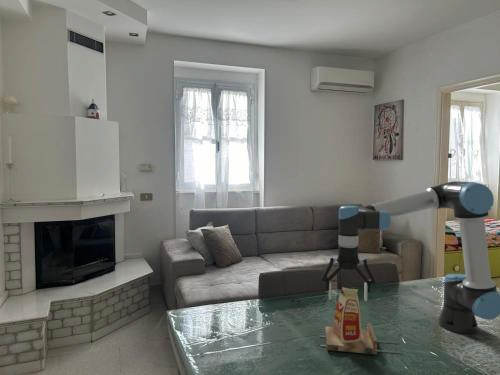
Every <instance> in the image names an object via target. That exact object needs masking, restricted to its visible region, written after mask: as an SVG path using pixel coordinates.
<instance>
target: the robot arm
mask: <svg viewBox="0 0 500 375" xmlns="http://www.w3.org/2000/svg"><path fill="white" fill-rule="evenodd" d="M494 200H495V199H494V195H493V192H492V190H491V189H490V188H489V187H488V186H486V185H485V184H483V183H479V182H475V181H474V182H473V181H458V180H457V181H449V182H444V183H441V184H438V185H434V186H431V187H427V188H426V189H425V190H424V191H420V192H417V193H413V194H408V195H405V196H404V195H403V196H401V197H397V198H392V199H388V200H385V201H381V202H376V203H373V204H369V205H365V206H361V205H360V206H358V205H357V206H356V205H342V206H340V207H339V209H338V216H337V217H338V239H337V240H338V243H337V244H338V246H337V247H338V249H337V250H338V252H337V257H333V256H330V257H329V262H328V263H327V264H328V265H327V266H326V267H325V270H324V272H323V274H322V275H321V281H322V282H325V290H326V291H328V300H332V280H333V279H334V278H335V277H336V275H337V274H338V273H339V272H340V271H342V269H343V270H344V271H345V270H346V271H347V270H349V271H353V270H355V271H356V272H357V273H358V275H359V276H360V277H361V278H362V279H363V280H364V288H363V289H364V291H363V292H364V294H363V295H364V296H363V299H364V302H368V293H371V285H372V284H375V283H376V280H375V277H374V276H373V274H372V272H371V271H370V270H371V269H370V268H369V266H368V260H367V258H365V257H363V258H360V257H359V247H358V246H359V231H384V230H385V231H387V230H388V229H389V228H390V226H391V219H393V218H397V217H401V216H405V215H409V214H414V213H417V212H421V211H425V210H429V209H431V210H434V211H435V210H438V209H439V210H440V209H451V210H453V215H454V218H455V219H456V220H458V221H459V229H460V230H459V231H460V239H461V247H462V256H463V263H464V264H463V266H464V272H465V273H448V274H445V276H444V281H443V307H442V309H441V311H440V313H439V316H438V319H437V320H438V325H439V326H440V327H441V328H443V329H445V330H446V331H447V330H448V331H451V332H453V333H459V334H466V335H467V334H468V335H470V334H475V333H478V331H479V330H478V327H479V326H478V325H479V324H478V321H477V319H476V317H479V318H481V319H483V320H487V321H488V320H495V319H496V318H498V317H500V293H499V292H498V290H497V282H496V281H495V280H493V279H492V276H491V275H492V274H491V268H490V259H489V248H488V240H487V232H486V221H485V220H486V218H487V217H489V211H490V210H491V209H492V207H493V206H494V203H495V202H494ZM335 263H338V265H337V266H336V267H335V269H334V270H332V271H331V269H332V267H333V265H334V264H335ZM359 264H361V265H363V267H364V268H365V271H366V273H367V274H368V276H369V278H370V279H369V278H368V277H367V276H366V275H365V273H364V272H363V271H362V270H361V268H360V267H359V266H358V265H359ZM330 271H331V273H330ZM329 273H330V274H329Z"/></svg>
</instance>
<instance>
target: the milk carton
mask: <svg viewBox="0 0 500 375" xmlns="http://www.w3.org/2000/svg"><path fill="white" fill-rule="evenodd" d="M341 288H342V290H341V291H340V293H339V295H338V299H337V302H336V306H335V311H334V315H333V321H332V326H333V332H332V333H333V334H334V335H335V336H336V337H337V338H338V340H339V341H340V342H341V343H350V342H357V341H361V329H362V321H361V319H362V318H361V308H360V302H359V297H358V291H359V289H355V288H347V287H343V286H342V287H341Z"/></svg>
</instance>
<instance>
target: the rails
mask: <svg viewBox="0 0 500 375" xmlns="http://www.w3.org/2000/svg"><path fill="white" fill-rule="evenodd" d="M319 338H325V339H326V335H319ZM377 343H380V344H383V343H384V344H393V345H398V343H397V341H389V340H388V341H387V340H377ZM319 346H320V347H322V348H327V344H320V345H319ZM377 353H386V354H396V355H402V354H403V353H402V351H395V350H394V351H393V350H383V349H377Z"/></svg>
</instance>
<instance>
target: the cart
mask: <svg viewBox="0 0 500 375" xmlns="http://www.w3.org/2000/svg"><path fill="white" fill-rule="evenodd" d="M366 326H367V327H366V328H367V329H364V328H361V341H357V342H350V343H341V342H340V341H339V340H338V338H337V337H336V336H335V335H334V334H333V333H332V332H333V325H332V326H326V325H325V336H326V338H325V340H326V341H325V342H326V344H325V345H327V347H326V350H327V351H333V352H335V353H336V352H347V353H348V352H349V353H359V354H366V355H368V356H369V355H378V352H377V350H378V342H377V336H376V334H375V331H374V328H373V325H372V323H371V322H367V325H366Z"/></svg>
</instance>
